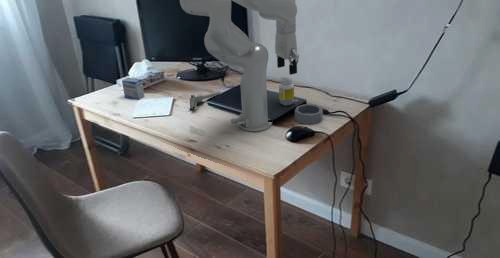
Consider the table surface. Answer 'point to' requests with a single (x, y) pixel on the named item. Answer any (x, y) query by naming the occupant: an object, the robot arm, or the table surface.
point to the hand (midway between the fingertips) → (287, 70)
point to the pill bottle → (286, 89)
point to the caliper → (200, 99)
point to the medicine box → (133, 88)
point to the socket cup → (308, 114)
